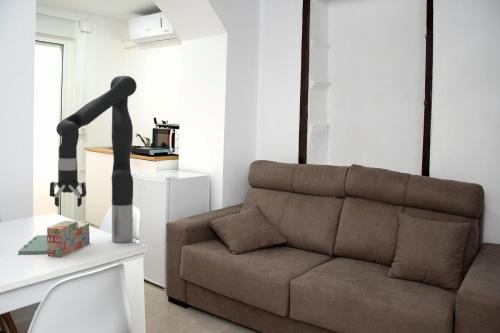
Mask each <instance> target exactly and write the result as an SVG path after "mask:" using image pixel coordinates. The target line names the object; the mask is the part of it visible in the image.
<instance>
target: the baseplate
mask: <svg viewBox="0 0 500 333" xmlns="http://www.w3.org/2000/svg"><path fill="white" fill-rule="evenodd" d="M17 254H18V256H19V255H21V256H22V255H24V256H27V255H48V244H47V234H44V235H43V234H42V235H41V234H40V235H39V234H36V235H35V236H33V238H32V239H30V240H29V241H28V242H27V243H26V244H24V245H23V246H22V247H21V248H20V249H19V250H18V251H17Z"/></svg>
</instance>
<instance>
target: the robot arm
mask: <svg viewBox="0 0 500 333" xmlns="http://www.w3.org/2000/svg"><path fill="white" fill-rule="evenodd" d="M137 87H138V86H137V81H136V80H135V79H134V78H133V77H132V76H130V75H129V76H128V75H118V76H116V77H113V79H112V80H111V82H110V85H109V88H110V89H109V90H108V91H106V92H105V93H103V94H102V95H100V96H98V97H96V98H95V99H92V100H91V101H89V102H88V103H86V104H84V105H83V106H82V107H81V108H79V109H78V110H77V111H76V112H74V113H73V114H71V115H68V116H67V117H65V118H64V119H62V120H61V121H59V122H58V123H57V125H56V134H58V135H59V136H60V137H61V142H60V144H59V146H58V162H57V172H58V174H57V175H58V176H57V177H58V178H57V182H56V181H51V182H50V184H49V196H50V197H52V198H54V206H55V207H57V208H58V207H60V197H59V196H60V195H61V194H62V193H65V194H66V193H68V194H69V193H70V194H72V193H73V194H74V195H75V196H76V198H77V199H76V202H77V207H78V208H79V207H81V205H82V204H83V201H82V200H83V198H84V197H86V196H87V185H86V184H87V183H86V182H85V181H83V182H79V181H78V175H79V174H78V169H79V168H78V155H77V154H78V149H77V146H78V142H79V137H80V136H79V135H80V129H81V128H83V127H85V126H87V125H90V124H91V123H92V122H93V121H95V120H96V119H97V118H99V117H100V116H101V115H102V114H103V113H105V112H106V111H107V110H109V109H110V108H111V146H112V154H113V161H112V162H113V164H112V171H111V172H112V173H111V240H112V242H113V243H116V244H117V243H121V244H123V243H131V242H133V240H134V218H133V216H134V215H133V214H134V213H133V211H134V210H133V205H134V204H133V202H134V201H133V200H134V177H133V174H132V171H131V152H132V147H133V140H134V137H133V136H134V133H133V132H134V127H133V122H132V119H131V115H130V113H129V108H128V104H129V103H128V102H129V97H131V96H132V95H133V94H135V92H136V90H137ZM57 187H58V188H59V190H57V192H56V193H55V191H56V190H55V188H57ZM78 187H80V188H81V192H80V190H79V189H78Z"/></svg>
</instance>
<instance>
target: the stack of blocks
mask: <svg viewBox="0 0 500 333" xmlns="http://www.w3.org/2000/svg"><path fill="white" fill-rule="evenodd" d="M46 233H47V234H46V235H47V244H48V254H47V257H54V258H63V257H65V256H68V255H70V254H72V252H75V251H76V250H79V249H80V248H83V247H84V246H86V245H88V244H90V243H91V242H90V223H89V222H88V223H87V222H78V221H77V220H76V221H73V220H63V221H61V222H60V221H59V222H57V223H56V224H52V225H51V226H47V227H46Z"/></svg>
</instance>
